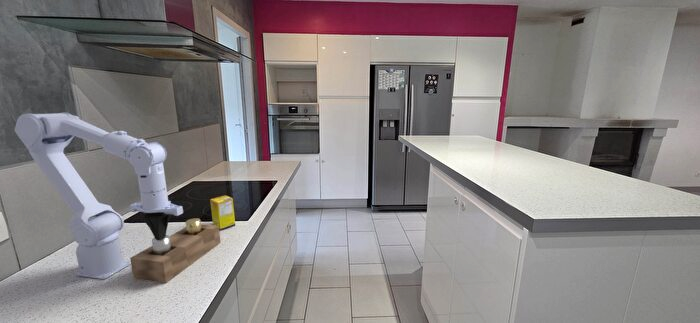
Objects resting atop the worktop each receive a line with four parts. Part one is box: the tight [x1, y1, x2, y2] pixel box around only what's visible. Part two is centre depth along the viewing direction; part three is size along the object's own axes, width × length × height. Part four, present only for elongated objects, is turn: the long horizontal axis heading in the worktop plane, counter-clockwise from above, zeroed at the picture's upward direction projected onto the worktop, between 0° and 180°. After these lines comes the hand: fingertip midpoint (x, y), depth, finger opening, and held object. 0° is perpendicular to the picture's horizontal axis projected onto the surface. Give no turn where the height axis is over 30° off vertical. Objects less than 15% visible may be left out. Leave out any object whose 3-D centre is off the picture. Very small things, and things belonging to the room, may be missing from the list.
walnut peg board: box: [129, 224, 221, 284], centre depth 84 cm, size 10×22×6 cm, turn 169°
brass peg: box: [185, 217, 202, 235], centre depth 89 cm, size 4×4×6 cm
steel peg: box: [151, 234, 171, 256], centre depth 77 cm, size 4×4×6 cm
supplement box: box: [210, 195, 236, 232], centre depth 106 cm, size 6×6×11 cm
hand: (160, 237), depth 77 cm, fingers closed
